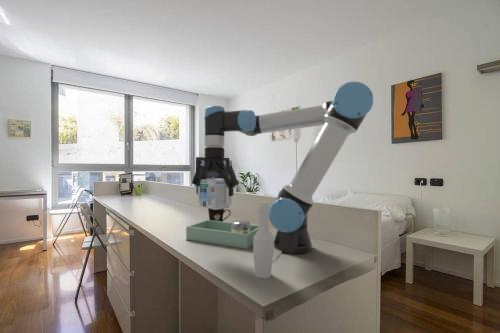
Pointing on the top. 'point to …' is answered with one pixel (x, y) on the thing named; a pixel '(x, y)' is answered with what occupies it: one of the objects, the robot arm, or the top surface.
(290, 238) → the robot arm
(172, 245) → the top surface
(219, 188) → the light bulb box
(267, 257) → the low poly bottle
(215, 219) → the coffee mug
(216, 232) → the box
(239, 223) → the tin can
